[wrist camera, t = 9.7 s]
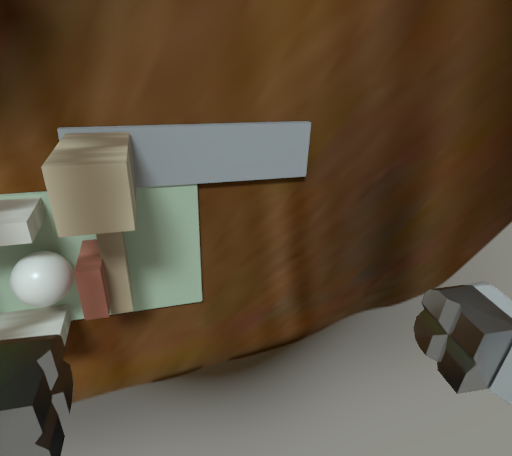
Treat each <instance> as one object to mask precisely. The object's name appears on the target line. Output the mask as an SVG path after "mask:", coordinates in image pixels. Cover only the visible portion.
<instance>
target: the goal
mask: <svg viewBox="0 0 512 456" xmlns="http://www.w3.org/2000/svg"><path fill="white" fill-rule="evenodd" d="M45 217H46V215H45V211H44V207H43V203H42V200H41V197H35V198H21V199H6V200H0V246H8V245H18V244H28V243H33V241H34V239H35V237H36V235H37V233H38V231H39V229H40V227H41V225H42V223H43V221H44V219H45ZM70 323H71V314H70V310H69V306H68V304H64V305H57V306H49V307H42V308H35V309H27V310H20V311H12V312H5V313H0V340H5V339H15V338H25V337H35V336H45V335H55V334H58V335H60V336H62V339H63V342H64V346H65V344H66V340H67V335H68V331H69V327H70Z"/></svg>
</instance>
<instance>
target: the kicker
mask: <svg viewBox="0 0 512 456" xmlns="http://www.w3.org/2000/svg"><path fill="white" fill-rule="evenodd" d="M41 168H42V172H43V176H44V180H45V184H46V188H47V192H48V197H49V201H50V205H51V209H52V213H53V217H54V221H55V225H56V229H57V234H58V238H59V237H70V236H81V235H91V234H96V237H97V239H93V240H83V241H82V244H81V248H80V252H79V255H78V259H77V263H76V267H75V270H74V276H75V280H76V284H77V289H78V293H79V297H80V302H81V306H82V310H83V314H84V319H85V320H91V319H98V318H105V317H109V313H110V311H111V314H117V313H124V312H131V311H133V292H132V286H131V279H130V272H129V266H128V259H127V252H126V246H125V239H124V232H123V231H134V230H135V214H136V183H135V175H134V167H133V159H132V151H131V143H130V135H129V132H101V133H68V134H64V136H63V137H62V139H61V140H60V141H59V143H58V144H57V146H56V147H55V148H54V150H53V151H52V153H51V154H50V155H49V157H48V158H47V160H46V161H45V162H44V164H43V165H42V167H41Z"/></svg>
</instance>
